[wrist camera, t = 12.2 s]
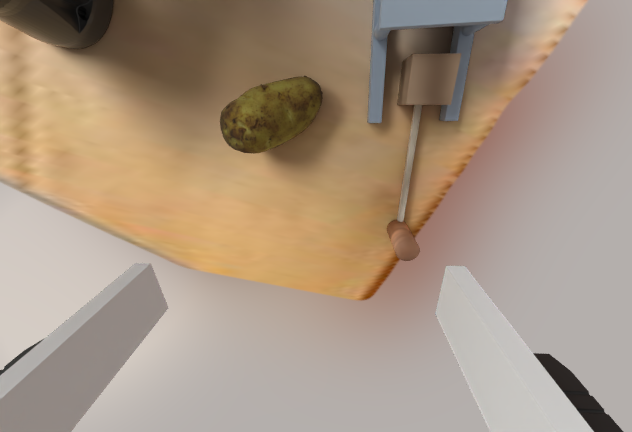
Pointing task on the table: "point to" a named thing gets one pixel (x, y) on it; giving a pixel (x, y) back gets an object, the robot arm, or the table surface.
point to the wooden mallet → (418, 89)
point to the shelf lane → (426, 12)
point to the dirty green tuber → (270, 114)
